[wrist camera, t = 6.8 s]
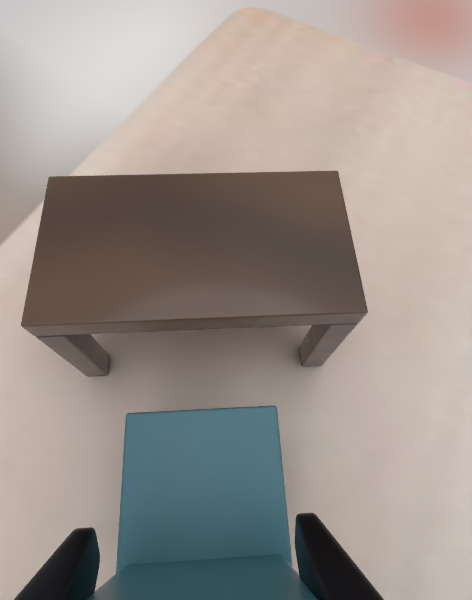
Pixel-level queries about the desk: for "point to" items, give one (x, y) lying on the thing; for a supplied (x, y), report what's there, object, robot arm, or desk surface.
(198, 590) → the chair
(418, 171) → the desk surface
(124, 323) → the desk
